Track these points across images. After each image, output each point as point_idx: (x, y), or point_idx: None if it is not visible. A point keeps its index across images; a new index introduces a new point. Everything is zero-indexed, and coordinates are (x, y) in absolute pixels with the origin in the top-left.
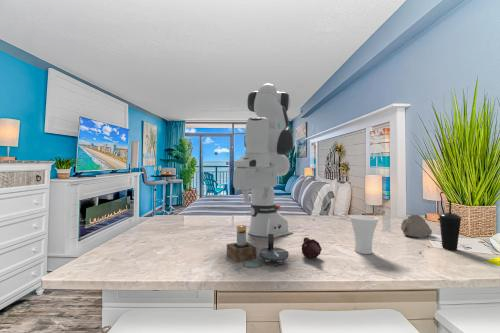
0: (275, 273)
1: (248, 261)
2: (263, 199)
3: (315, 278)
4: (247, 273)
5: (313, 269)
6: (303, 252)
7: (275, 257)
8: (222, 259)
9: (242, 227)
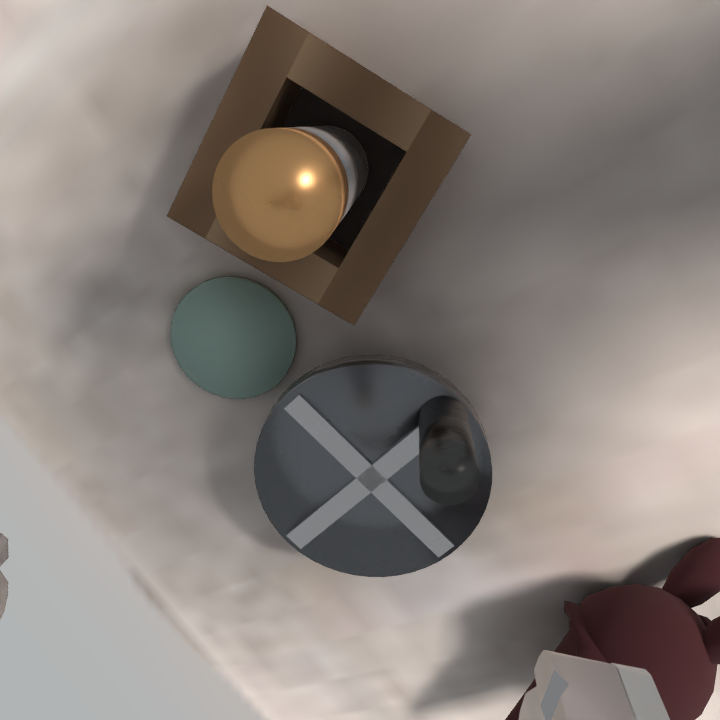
0: (206, 522)
1: (247, 297)
2: (538, 676)
3: (283, 706)
4: (94, 385)
5: (398, 674)
6: (567, 611)
7: (275, 525)
8: (175, 67)
9: (239, 238)
